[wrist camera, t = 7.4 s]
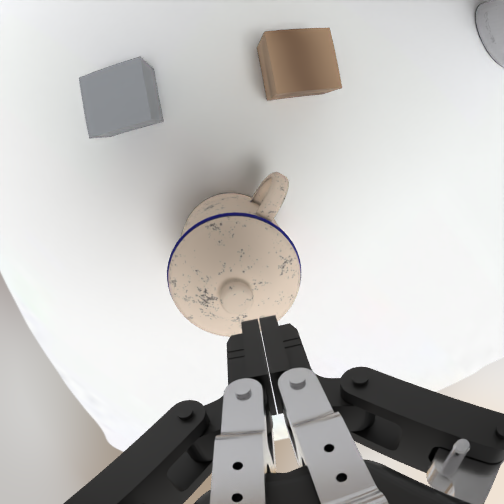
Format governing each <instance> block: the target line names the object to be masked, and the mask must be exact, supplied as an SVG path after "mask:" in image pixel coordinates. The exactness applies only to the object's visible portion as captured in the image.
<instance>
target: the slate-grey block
mask: <svg viewBox="0 0 504 504" xmlns="http://www.w3.org/2000/svg"><path fill="white" fill-rule="evenodd" d="M79 81H80V88H81V95H82V101H83V107H84V113H85V118H86V124H87V129H88V134H89V138H101V137H111V136H114V135H118V134H121V133H124V132H128V131H131V130H134V129H138V128H142V127H145V126H149V125H153V124H156V123H160V122H163V117H162V111H161V106H160V101H159V95H158V90H157V84H156V79H155V73H154V69H153V68H152V67H151V66H150V65H149V64H148V63H147V62H146V61H145V60H144V59H143V58H141V57H137V58H134V59H131V60H128V61H124V62H121V63H118V64H115V65H112V66H109V67H106V68H104V69H101V70H98V71H95V72H93V73H90V74H87V75H85V76H82V77H80V78H79Z"/></svg>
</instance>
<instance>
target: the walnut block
mask: <svg viewBox="0 0 504 504" xmlns="http://www.w3.org/2000/svg"><path fill="white" fill-rule="evenodd" d="M257 51H258V56H259V61H260V66H261V71H262V76H263V81H264V87H265V92H266V97H267V101H268V100H275V99H282V98H291V97H299V96H309V95H319V94H325V93H328V92H331V91H334V90H337V89H340V88H342V85H341V79H340V74H339V69H338V64H337V59H336V54H335V49H334V45H333V40H332V36H331V31H330V28H306V29H289V30H276V31H266V32H264V33H263V36H262V38H261V40H260V42H259V44H258V46H257Z"/></svg>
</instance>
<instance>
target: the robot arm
mask: <svg viewBox="0 0 504 504" xmlns="http://www.w3.org/2000/svg"><path fill="white" fill-rule="evenodd" d="M476 24H477V29H478V32H479V35H480V37H481V40H482V42H483V44H484V46H485V48H486V49H487V51H488V52H489V54H490V55H491V57H492V58H493V59H494V60H495V61H496V62H497V63H498V64H499V65H501V66H502V67H504V0H492V1H489V2H486V3H483V4H481V5H479V6H478V8H477V11H476ZM259 321H260V326H261V331H262V336H263V341H264V346H265V351H264V347H263V342H262V337H261V332H260V328H259V323H258V319H253V320H248V321H243V322H241V326H242V333H241V334H236V335H231V337H230V338H229V340H228V342H227V364H228V386H227V387H226V389H225V391H224V395H223V396H222V397H221V398H220V399H218V400H216V401H214V402H212V403H210V404H207V405H204V406H203V405H202V404H201V403H199V402H197V401H193V400H186V401H182V402H179V403H177V404H176V405H174V406H173V407H172V408H171V409H170V410H169V411H168V412H167V413H166V414H165V415H163V416H162V417H161V418H160V419H159V420H158V421H157V422H156V423H155V424H154V425H153V426H152V427H151V428H150V429H148V430H147V431H146V432H145V433H144V434H143V435H142V436H141V437H140V438H139V439H138V440H136V441H135V442H134V443H133V444H132V445H131V446H130V447H129V448H128V449H127V450H125V451H124V452H123V453H122V454H121V455H120V456H119V457H118V458H116V459H115V460H114V461H113V462H112V463H111V464H110V465H109V466H107V467H106V468H105V469H104V470H103V471H102V472H100V473H99V474H98V475H97V476H96V477H95V478H94V479H92V480H91V481H90V482H89V483H88V484H86V485H85V486H84V487H83V488H82V489H80V490H79V491H78V492H77V493H76V494H75V495H73V496H72V497H71V498H70V499H68V500H67V501H66V502H65V503H64V504H183V503H184V502H185V501H186V500H187V499H188V498H189V497H190V496H191V495H192V494H193V493H194V492H195V490H196V489H197V488H198V487H199V486H200V485H201V484H202V483H203V482H204V481H205V479H206V478H207V477H208V476H209V475H210V474H211V473H212V482H211V490H209V491H208V492H206V493H205V494H203V495H202V496H201V497H200V498H199V499H198V500H197V501H196V502H195V503H194V504H484V502H485V500H486V498H487V496H488V494H489V491H490V489H491V487H492V485H493V482H494V480H495V478H496V475H497V473H498V470H499V468H500V465H501V464H502V463H503V462H504V414H502V413H499V412H496V411H492V410H489V409H486V408H483V407H479V406H476V405H473V404H470V403H467V402H463V401H460V400H457V399H454V398H451V397H448V396H445V395H442V394H439V393H437V392H434V391H431V390H428V389H425V388H422V387H419V386H417V385H414V384H411V383H408V382H405V381H403V380H400V379H397V378H394V377H392V376H389V375H386V374H384V373H381V372H379V371H376V370H373V369H371V368H367V367H355V368H352V369H350V370H348V371H346V372H345V373H344V374H343V375H342V377H341V378H324V377H321V376H318V375H317V374H315V373H314V372H313V371H312V369H311V367H310V364H309V362H308V359H307V356H306V353H305V350H304V347H303V345H302V342H301V339H300V336H299V333H298V331H297V329H296V328H295V327H293V326H292V325H291V324H285V325H280V326H278V322H277V319H276V315H272V316H267V317H263V318H259ZM265 352H266V356H265ZM266 357H267V361H266ZM267 362H268V367H269V372H270V377H271V382H272V386H273V391H274V396H275V400H276V405H277V410H278V414H281V413H284V418H285V423H286V428H287V432H288V435H289V438H290V440H291V444H292V447H293V450H294V453H295V456H296V459H297V462H298V465H299V468H298V469H296V470H293V471H291V472H288V473H276V463H275V449H274V436H273V429H272V428H273V421H272V415H277V413H276V408H275V403H274V398H273V393H272V387H271V382H270V377H269V372H268V367H267ZM354 441H356V442H358V443H360V444H362V445H364V446H366V447H368V448H370V449H372V450H375V451H377V452H379V453H381V454H383V455H385V456H388V457H390V458H392V459H394V460H397V461H399V462H401V463H404V464H406V465H408V466H411V467H413V468H416V469H418V470H420V471H423V472H425V473H427V481H428V483H429V484H430V486H431V487H429V486H427V485H425V484H423V483H420V482H418V481H416V480H414V479H412V478H409V477H407V476H405V475H403V474H401V473H399V472H397V471H395V470H393V469H391V468H389V467H387V466H385V465H383V464H380V463H377V462H374V461H370V460H363V459H362V456H361V455H360V452H359V450H358V448H357V446H356V444H355V442H354ZM432 487H433V488H432Z"/></svg>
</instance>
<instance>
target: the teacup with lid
mask: <svg viewBox="0 0 504 504" xmlns="http://www.w3.org/2000/svg"><path fill="white" fill-rule="evenodd" d="M288 187H289V182H288V179H287V177H285V176H284V175H282V174H280V173H278V172H274V173H271V174H270V175H268V176H267V177H266V178H265V179H264V180H263V182H262V183H261V184H260V186H259V187H258V189H257V190H256V192H255V193H254V195H253V197H252V198H251V197H249V196H246V195H242V194H237V193H225V194H219V195H216V196H213V197H211V198H208V199H207V200H205V201H203V202H202V203H201V204H199V205H198V206H197V207H196V208H195V209H194V210H193V211H192V213H191V214H190V216H189V217H188V219H187V221H186V224H185V227H184V229H183V232H182V235H181V238H180V239H179V240H178V242H177V243H176V245H175V247H174V249H173V251H172V253H171V255H170V259H169V262H168V268H167V281H168V287H169V291H170V294H171V296H172V299H173V301H174V303H175V305H176V306H177V308H178V309H179V311H180V312H181V313H182V314H183V315H184V317H185V318H186V319H188V320H189V321H190V322H191V323H193V324H194V325H195V326H197V327H199V328H200V329H202V330H205V331H207V332H210V333H212V334H216V335H221V336H229V337H231V335H236V334H241V333H242V326H241V322H243V321H248V320H253V319H258V323H259V328H260V331H261V326H260V321H259V318H263V317H267V316H272V315H276V319H277V321H278V320H280V319H281V318H282V317H283V316H284V315H285V314H286V312H287V311H288V310H289V309H290V307H291V306H292V304H293V302H294V300H295V298H296V296H297V293H298V290H299V286H300V281H301V264H300V259H299V256H298V253H297V250H296V248H295V246H294V244H293V243H292V241H291V240H290V238H289V237H288V236H287V235H286V234H285V232H284V231H282V230H281V229H280V228H279V226H278V225H277V223H276V222H275V220H274V217H275V215H276V214H277V212H278V210H279V209H280V207H281V205H282V203H283V201H284V199H285V197H286V194H287V191H288Z"/></svg>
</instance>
